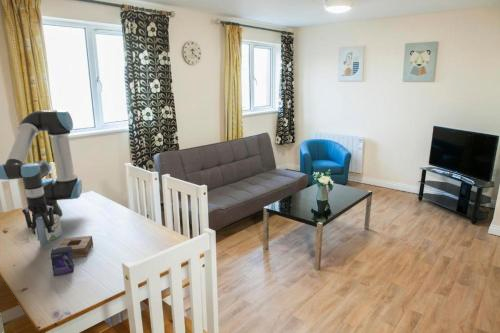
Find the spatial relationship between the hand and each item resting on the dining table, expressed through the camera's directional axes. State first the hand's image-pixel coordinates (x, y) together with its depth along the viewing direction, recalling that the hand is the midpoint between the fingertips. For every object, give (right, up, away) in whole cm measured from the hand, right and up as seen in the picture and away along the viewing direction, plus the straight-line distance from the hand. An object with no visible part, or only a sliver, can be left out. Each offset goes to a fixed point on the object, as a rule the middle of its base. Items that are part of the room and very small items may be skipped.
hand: (44, 239), depth 172 cm
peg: (0, -3, +1) cm, 3 cm away
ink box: (-3, -2, +13) cm, 14 cm away
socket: (+17, -6, -2) cm, 18 cm away
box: (+20, -11, -19) cm, 30 cm away
